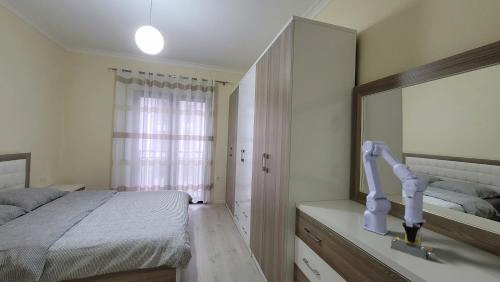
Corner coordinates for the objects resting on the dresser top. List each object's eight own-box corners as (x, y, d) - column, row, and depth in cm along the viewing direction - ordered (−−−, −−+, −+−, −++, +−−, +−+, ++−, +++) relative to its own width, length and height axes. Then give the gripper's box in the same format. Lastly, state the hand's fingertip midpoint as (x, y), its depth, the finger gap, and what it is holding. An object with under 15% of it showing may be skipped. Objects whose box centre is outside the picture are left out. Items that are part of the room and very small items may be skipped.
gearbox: (391, 247, 87) (391, 239, 87) (393, 245, 90) (393, 237, 90) (434, 262, 77) (434, 253, 77) (435, 259, 80) (435, 250, 80)
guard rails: (391, 244, 90) (391, 241, 90) (396, 239, 95) (396, 236, 95) (429, 257, 81) (429, 254, 81) (432, 250, 86) (433, 247, 86)
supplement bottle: (413, 250, 86) (414, 226, 86) (401, 244, 91) (402, 221, 91) (424, 249, 87) (425, 226, 86) (412, 243, 92) (413, 221, 92)
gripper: (422, 213, 81) (421, 249, 81) (429, 206, 91) (427, 238, 91) (400, 208, 86) (399, 242, 86) (408, 202, 96) (407, 232, 96)
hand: (412, 239), depth 89 cm, fingers open, 5 cm apart
